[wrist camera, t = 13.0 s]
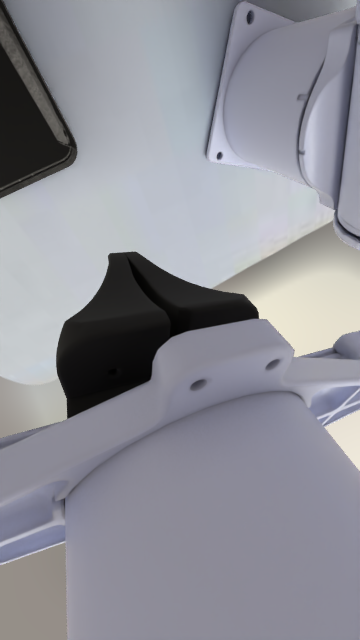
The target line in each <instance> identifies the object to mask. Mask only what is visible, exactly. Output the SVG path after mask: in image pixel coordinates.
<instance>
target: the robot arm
mask: <svg viewBox="0 0 360 640" xmlns="http://www.w3.org/2000/svg"><path fill="white" fill-rule="evenodd" d="M248 12H249V13H250V14H251V21H250V23H249V24H248V23H247V20H246V19H247V14H248ZM219 152H220V153H221V155H220V157H219V158H218V159H217V154H218V153H219ZM207 159H208V160H209V161H210V162H213V163H220V164H227V165H234V166H242V167H249V168H256V169H263V170H269V171H272V172H274V173H277V174H279V175H282V176H284V177H287V178H289V179H291V180H294V181H296V182H299V183H301V184H304V185H306V186H308V187H311V188H314V189H315V190H316V191H317V192H318V194H319V198H320V204H323V205H325V206H327V207H329V208H331V209H333V210H336V211H335V213H334V223H333V225H334V230H335V232H336V234H337V236H338V237H339V238H340V239H341V240H342V241H343V242H344V243H346V244H347V245H349V246H351V247H353V248H355V249H357V250H360V0H357V5H356V6H354V7H351V8H347V9H344V10H340V11H337V12H333V13H330V14H326V15H323V16H319V17H316V18H312V19H309V20H305V21H302V22H298V23H296V22H294V21H292V20H289V19H287V18H284V17H282V16H280V15H277V14H275V13H273V12H270V11H268V10H265V9H263V8H261V7H258V6H256V5H254V4H251V3H249V2H246V1H242V2H240V3H239V4H237V6H236V7H235V10H234V13H233V18H232V23H231V29H230V34H229V39H228V44H227V49H226V55H225V60H224V65H223V70H222V76H221V81H220V86H219V91H218V96H217V102H216V107H215V112H214V117H213V123H212V128H211V133H210V138H209V144H208V149H207ZM108 260H109V266H108V269H107V273H106V276H105V278H104V281H103V283H102V285H101V287H100V289H99V290H98V292H97V293H96V295H95V296H94V297H93V299H92V300H91V301H90V302H89V303H88V304H87V305H86V306H85V307H84V308H83V309H82V310H81V311H80V312H78V313H77V314H75V315H74V316H73V317H71V318H70V319H68V320H66V321H65V323H64V325H63V328H62V331H61V334H60V338H59V342H58V347H57V354H56V367H57V375H58V377H59V380H60V382H61V385H62V387H63V390H64V393H65V395H66V398H67V419H66V420H64V421H62V422H58V423H54V424H51V425H47V426H43V427H40V428H36V429H32V430H29V431H25V432H21V433H18V434H14V435H10V436H7V437H3V438H0V565H2V564H5V563H8V562H10V561H13V560H16V559H19V558H22V557H25V556H28V555H30V554H33V553H36V552H39V551H42V550H44V549H47V548H50V547H53V546H56V545H59V544H61V543H64V542H66V589H67V590H66V592H67V640H360V471H359V470H358V469H357V468H356V466H355V465H354V464H353V463H352V461H351V460H350V459H349V458H348V456H347V455H346V454H345V453H344V451H343V450H342V449H341V448H340V446H339V445H338V444H337V443H336V441H335V440H334V439H333V438H332V436H331V435H330V434H329V433H328V431H327V430H326V429H325V428H324V427H326V426H328V425H330V424H332V423H334V422H336V421H338V420H340V419H341V418H344V417H345V416H347V415H350V414H352V413H354V412H356V411H358V410H360V331H356V332H352V333H348V334H345V335H342V336H341V337H340V338H339V339H338V340H337V341H336V342H335V344H334V345H333V348H329V349H326V350H322V351H318V352H314V353H311V354H307V355H303V356H300V357H293V356H294V349H293V348H292V346H291V345H290V344H289V343H288V342H287V341H286V340H285V339H284V338H283V337H282V335H281V334H280V333H279V332H278V331H277V330H276V329H275V328H274V327H273V326H272V325H271V324H270V322H269V321H268V320H266V319H259V313H258V311H257V308H256V307H255V306H254V305H253V304H252V303H251V302H250V301H249V300H248V298H247V297H246V296H245V295H243V294H236V293H229V292H222V291H218V290H213V289H209V288H205V287H201V286H198V285H195V284H192V283H190V282H187V281H184V280H182V279H180V278H178V277H175V276H173V275H172V274H170V273H168V272H166V271H164V270H163V269H161V268H159V267H158V266H156V265H155V264H153V263H152V262H150V261H149V260H147V259H146V258H145V257H143V256H142V255H140V254H139V253H137V252H123V253H110V254H109V255H108Z"/></svg>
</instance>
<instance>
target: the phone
mask: <svg viewBox="0 0 360 640" xmlns="http://www.w3.org/2000/svg"><path fill="white" fill-rule="evenodd" d="M76 156H77V147H76V142H75V140H74V137H73V135H72V133H71V131H70V129H69V127H68V126H67V124H66V122H65V120H64V118H63V116H62V114H61V112H60V110H59V108H58V106H57V104H56V102H55V101H54V99H53V97H52V95H51V93H50V91H49V89H48V87H47V85H46V83H45V81H44V79H43V77H42V76H41V74H40V72H39V70H38V68H37V66H36V64H35V62H34V60H33V58H32V56H31V54H30V52H29V51H28V49H27V47H26V45H25V43H24V41H23V39H22V37H21V35H20V33H19V31H18V29H17V27H16V25H15V24H14V22H13V20H12V18H11V16H10V14H9V12H8V10H7V8H6V6H5V4H4V2H3V0H0V198H2V197H4V196H6V195H9V194H11V193H13V192H15V191H17V190H19V189H22V188H24V187H26V186H28V185H30V184H32V183H34V182H37V181H39V180H41V179H43V178H45V177H47V176H49V175H52V174H54V173H56V172H58V171H60V170H62V169H65V168H67V167H69V166H70V165H72V164H73V163H74V161H75V159H76Z"/></svg>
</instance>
